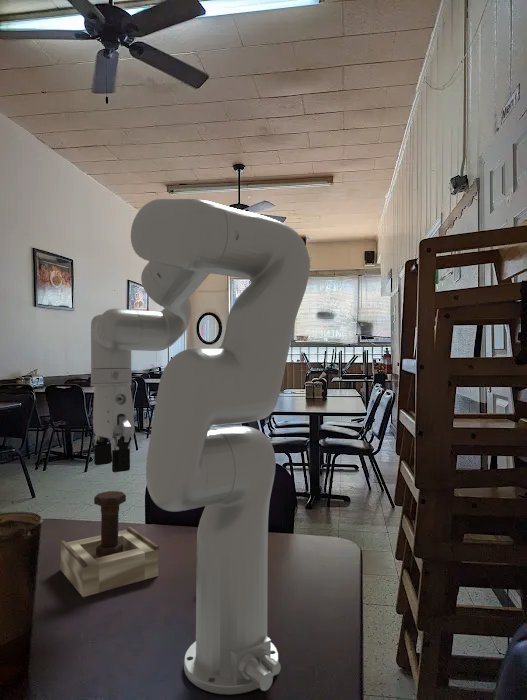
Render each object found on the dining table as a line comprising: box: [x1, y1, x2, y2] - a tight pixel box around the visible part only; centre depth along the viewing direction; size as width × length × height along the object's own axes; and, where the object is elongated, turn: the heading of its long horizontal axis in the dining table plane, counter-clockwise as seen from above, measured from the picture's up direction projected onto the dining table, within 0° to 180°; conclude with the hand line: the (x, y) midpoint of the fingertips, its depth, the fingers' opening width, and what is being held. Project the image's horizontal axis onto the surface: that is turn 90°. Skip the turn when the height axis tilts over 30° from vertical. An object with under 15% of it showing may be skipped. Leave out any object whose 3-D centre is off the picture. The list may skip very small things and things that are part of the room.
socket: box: [60, 526, 160, 598], centre depth 94 cm, size 14×14×6 cm
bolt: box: [93, 490, 127, 558], centre depth 93 cm, size 6×5×15 cm
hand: (111, 467), depth 94 cm, fingers open, 9 cm apart
